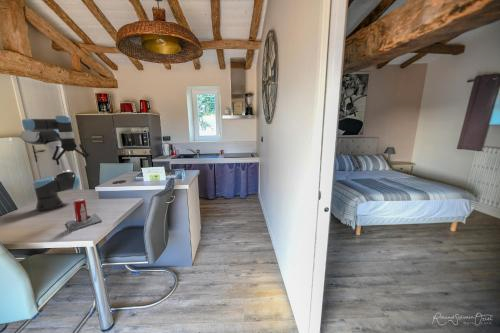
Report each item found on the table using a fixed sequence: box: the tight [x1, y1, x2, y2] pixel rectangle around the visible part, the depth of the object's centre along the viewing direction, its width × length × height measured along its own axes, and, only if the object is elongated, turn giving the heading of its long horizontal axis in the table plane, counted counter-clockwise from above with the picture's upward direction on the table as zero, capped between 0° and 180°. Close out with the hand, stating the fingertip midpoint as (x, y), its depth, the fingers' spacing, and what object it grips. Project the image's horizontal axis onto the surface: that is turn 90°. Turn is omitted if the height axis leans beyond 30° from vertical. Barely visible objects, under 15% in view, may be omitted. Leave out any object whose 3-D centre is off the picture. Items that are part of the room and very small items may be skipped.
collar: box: [72, 214, 94, 225], centre depth 133 cm, size 10×10×2 cm
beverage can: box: [73, 198, 88, 221], centre depth 131 cm, size 6×6×15 cm
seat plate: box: [65, 213, 103, 232], centre depth 133 cm, size 16×16×1 cm
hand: (73, 167), depth 148 cm, fingers open, 13 cm apart
